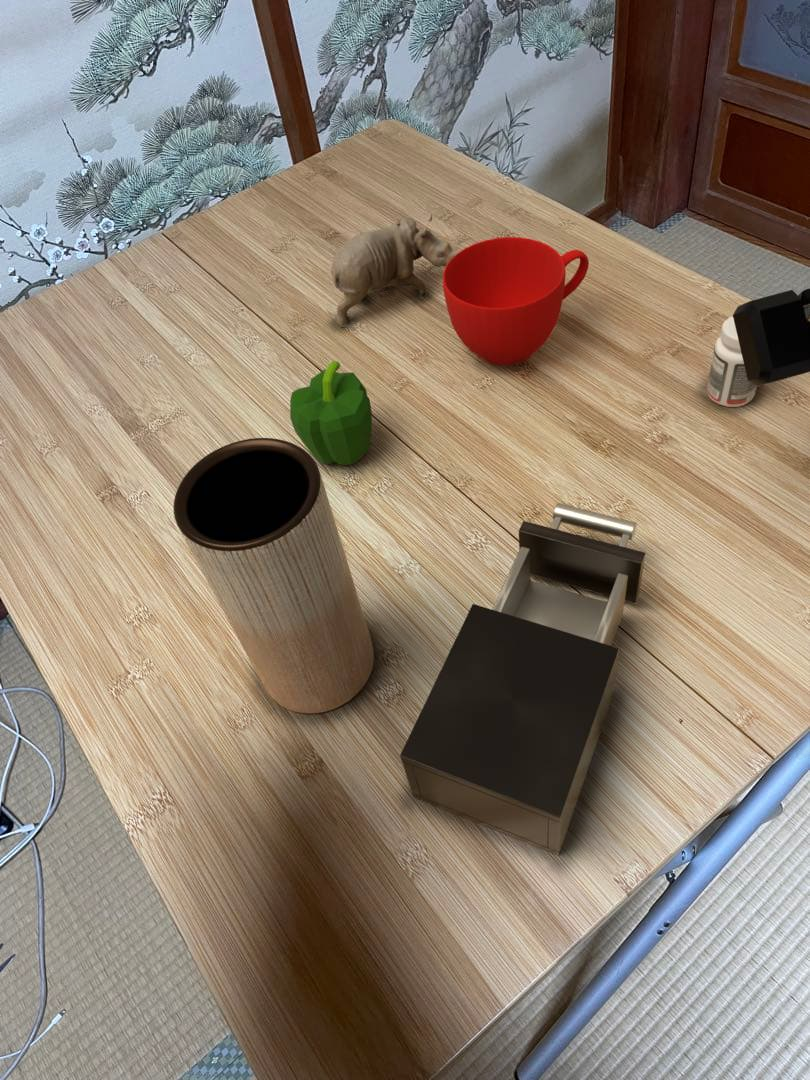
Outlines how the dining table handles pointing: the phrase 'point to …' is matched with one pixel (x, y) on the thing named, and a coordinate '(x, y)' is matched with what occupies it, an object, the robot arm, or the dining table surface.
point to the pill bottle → (729, 370)
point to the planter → (278, 570)
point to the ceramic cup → (508, 296)
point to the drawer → (574, 574)
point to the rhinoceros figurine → (384, 262)
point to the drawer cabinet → (512, 726)
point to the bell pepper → (333, 416)
